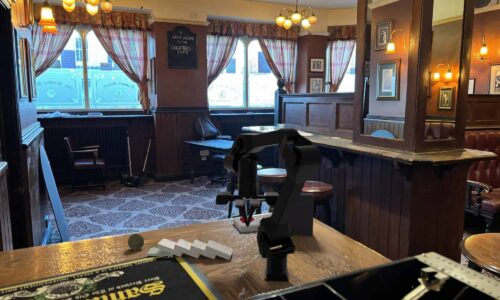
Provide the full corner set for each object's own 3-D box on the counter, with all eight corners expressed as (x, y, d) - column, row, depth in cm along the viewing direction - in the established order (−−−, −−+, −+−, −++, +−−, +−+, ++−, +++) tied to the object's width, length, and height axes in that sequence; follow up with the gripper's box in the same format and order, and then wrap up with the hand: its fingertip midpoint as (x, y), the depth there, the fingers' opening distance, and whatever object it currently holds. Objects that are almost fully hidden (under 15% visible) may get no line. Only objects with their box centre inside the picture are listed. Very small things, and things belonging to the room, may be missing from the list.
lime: (146, 247, 124) (145, 232, 123) (135, 252, 120) (135, 237, 119) (135, 245, 126) (134, 230, 125) (124, 250, 121) (124, 235, 121)
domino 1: (172, 254, 116) (146, 253, 117) (172, 259, 116) (147, 258, 117) (176, 248, 121) (152, 247, 122) (176, 253, 121) (152, 252, 122)
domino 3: (199, 253, 115) (175, 244, 116) (197, 258, 115) (173, 249, 116) (203, 247, 120) (180, 238, 121) (202, 252, 120) (178, 243, 121)
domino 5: (230, 255, 114) (206, 245, 114) (229, 260, 114) (204, 250, 115) (233, 249, 119) (209, 239, 119) (231, 253, 119) (207, 244, 120)
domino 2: (181, 252, 116) (157, 243, 117) (180, 257, 116) (156, 248, 117) (187, 246, 121) (163, 238, 122) (185, 251, 121) (162, 242, 122)
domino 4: (215, 254, 115) (191, 245, 115) (214, 259, 115) (189, 249, 115) (218, 248, 120) (195, 239, 120) (217, 253, 120) (193, 243, 120)
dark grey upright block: (312, 232, 139) (313, 192, 137) (312, 236, 135) (314, 195, 133) (282, 231, 140) (282, 191, 138) (281, 235, 136) (282, 194, 134)
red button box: (266, 220, 140) (240, 222, 137) (266, 231, 141) (240, 234, 138) (256, 211, 152) (231, 213, 149) (256, 221, 152) (231, 223, 150)
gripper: (278, 171, 121) (277, 218, 123) (219, 170, 122) (219, 217, 124) (279, 177, 110) (278, 229, 112) (215, 177, 111) (215, 229, 113)
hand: (247, 226), depth 115 cm, fingers closed
